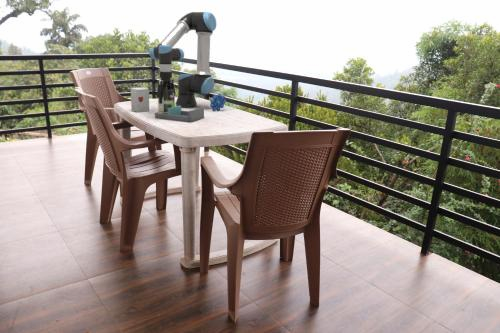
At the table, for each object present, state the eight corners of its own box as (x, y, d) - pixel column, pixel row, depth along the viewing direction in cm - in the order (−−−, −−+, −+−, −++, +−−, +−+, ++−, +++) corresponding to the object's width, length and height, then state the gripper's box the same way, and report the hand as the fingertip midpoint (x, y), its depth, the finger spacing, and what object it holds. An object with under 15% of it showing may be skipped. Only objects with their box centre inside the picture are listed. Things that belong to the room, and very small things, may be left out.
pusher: (167, 117, 251) (167, 108, 249) (179, 114, 263) (179, 105, 261) (170, 118, 250) (169, 108, 248) (181, 114, 262) (181, 105, 260)
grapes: (223, 109, 291) (223, 92, 288) (226, 111, 285) (227, 93, 282) (207, 110, 287) (207, 92, 283) (210, 111, 281) (211, 94, 277)
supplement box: (137, 112, 269) (136, 89, 265) (131, 110, 276) (130, 87, 271) (150, 111, 275) (149, 88, 270) (143, 109, 281) (142, 87, 277)
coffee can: (177, 111, 262) (177, 88, 257) (171, 113, 252) (170, 90, 248) (162, 110, 264) (161, 87, 259) (155, 112, 254) (154, 89, 250)
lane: (155, 118, 252) (154, 107, 250) (170, 114, 267) (169, 103, 265) (190, 122, 244) (190, 111, 242) (204, 117, 259) (204, 107, 257)
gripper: (170, 69, 262) (171, 104, 268) (149, 72, 242) (150, 109, 248) (180, 70, 259) (181, 105, 266) (160, 72, 239) (161, 110, 246)
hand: (166, 107), depth 257 cm, fingers closed on coffee can, 10 cm apart
